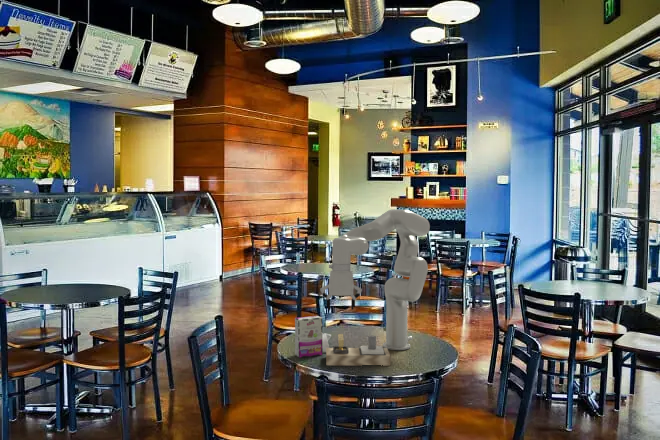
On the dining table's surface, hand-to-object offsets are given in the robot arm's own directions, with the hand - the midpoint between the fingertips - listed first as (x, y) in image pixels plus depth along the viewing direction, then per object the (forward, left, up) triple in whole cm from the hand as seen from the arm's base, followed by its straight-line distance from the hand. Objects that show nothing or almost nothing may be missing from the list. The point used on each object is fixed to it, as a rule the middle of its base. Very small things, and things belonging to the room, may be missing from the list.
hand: (340, 308), depth 245 cm
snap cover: (-9, +9, -18) cm, 22 cm away
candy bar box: (+3, -16, -22) cm, 27 cm away
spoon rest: (-12, -23, -22) cm, 34 cm away
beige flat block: (-5, +5, -22) cm, 23 cm away
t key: (0, 0, -18) cm, 18 cm away
